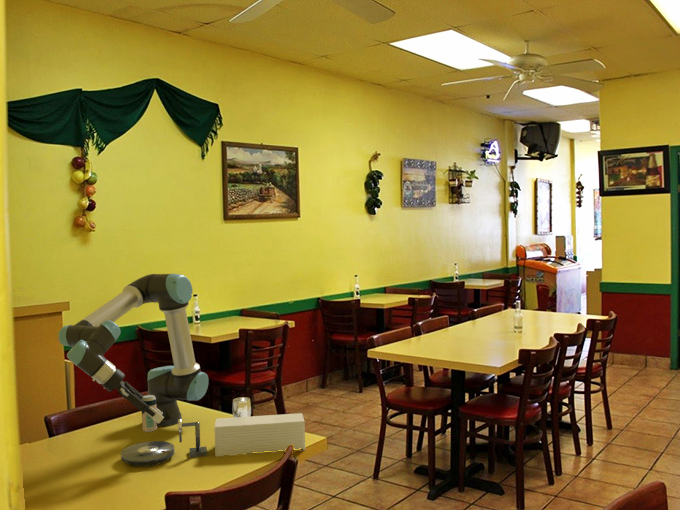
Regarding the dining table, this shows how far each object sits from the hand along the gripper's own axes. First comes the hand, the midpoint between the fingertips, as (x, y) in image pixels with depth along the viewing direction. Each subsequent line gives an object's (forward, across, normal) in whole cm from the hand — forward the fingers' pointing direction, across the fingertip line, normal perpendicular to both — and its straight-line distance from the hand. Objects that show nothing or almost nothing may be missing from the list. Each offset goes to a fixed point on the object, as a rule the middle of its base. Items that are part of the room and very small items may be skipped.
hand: (160, 418), depth 221 cm
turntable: (+6, -3, -13) cm, 14 cm away
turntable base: (+7, -3, -14) cm, 16 cm away
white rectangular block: (+36, +2, +14) cm, 38 cm away
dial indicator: (+18, -1, -3) cm, 18 cm away
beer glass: (+33, -13, +11) cm, 37 cm away
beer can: (0, 0, -6) cm, 6 cm away
